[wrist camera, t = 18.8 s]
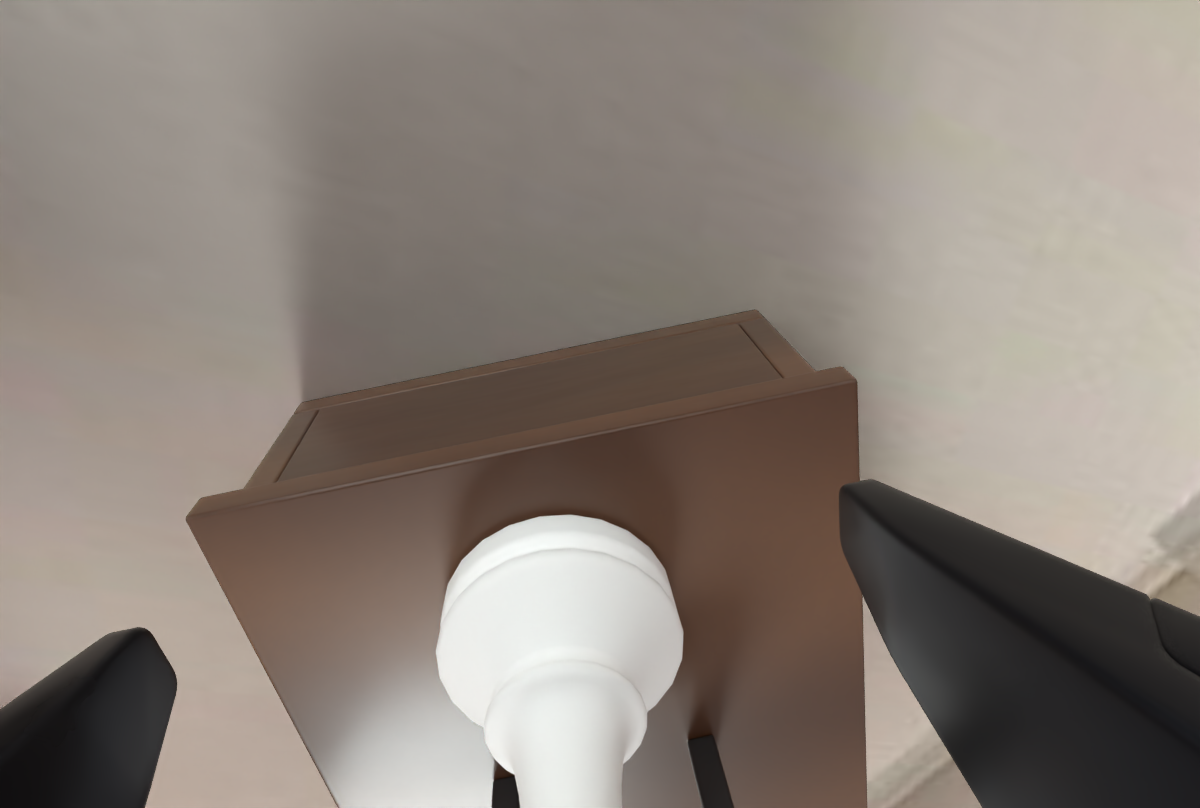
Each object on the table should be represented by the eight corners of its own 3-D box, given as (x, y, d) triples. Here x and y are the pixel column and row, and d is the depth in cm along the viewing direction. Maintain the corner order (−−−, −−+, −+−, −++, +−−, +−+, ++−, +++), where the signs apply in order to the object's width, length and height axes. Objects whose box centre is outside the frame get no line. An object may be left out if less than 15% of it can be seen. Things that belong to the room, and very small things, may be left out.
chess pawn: (393, 599, 15) (244, 1202, 7) (575, 465, 14) (641, 988, 6) (544, 720, 17) (561, 1301, 9) (714, 609, 16) (902, 1150, 8)
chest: (299, 401, 21) (215, 527, 15) (756, 307, 21) (844, 397, 15) (445, 758, 27) (425, 937, 22) (789, 686, 28) (858, 846, 22)
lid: (199, 496, 15) (62, 673, 10) (842, 364, 15) (973, 485, 10) (425, 939, 22) (400, 1154, 17) (858, 847, 22) (940, 1038, 18)
